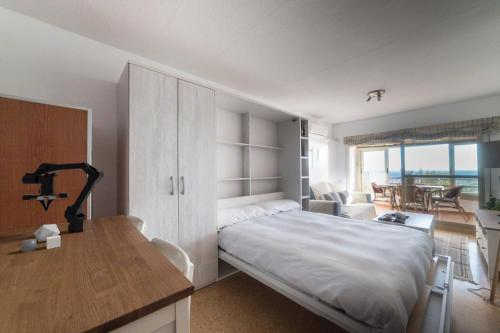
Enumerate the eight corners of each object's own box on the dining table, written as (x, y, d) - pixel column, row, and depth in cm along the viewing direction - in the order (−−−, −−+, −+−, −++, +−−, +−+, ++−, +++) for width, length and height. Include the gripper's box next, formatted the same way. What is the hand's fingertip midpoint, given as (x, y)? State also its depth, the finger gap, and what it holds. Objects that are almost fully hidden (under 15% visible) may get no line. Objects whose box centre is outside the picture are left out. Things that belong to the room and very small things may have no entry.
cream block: (59, 244, 99) (59, 235, 99) (60, 246, 96) (60, 237, 96) (46, 246, 96) (46, 237, 96) (47, 249, 93) (47, 239, 93)
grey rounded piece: (37, 247, 94) (37, 238, 94) (34, 250, 91) (35, 240, 91) (23, 250, 91) (23, 240, 92) (20, 253, 88) (20, 242, 88)
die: (35, 241, 105) (26, 229, 100) (55, 229, 112) (48, 217, 107) (46, 248, 103) (37, 236, 97) (65, 235, 110) (58, 224, 104)
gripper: (69, 183, 130) (69, 207, 129) (27, 184, 119) (26, 210, 118) (68, 184, 121) (67, 209, 121) (22, 185, 110) (21, 213, 109)
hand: (46, 210), depth 117 cm, fingers closed
